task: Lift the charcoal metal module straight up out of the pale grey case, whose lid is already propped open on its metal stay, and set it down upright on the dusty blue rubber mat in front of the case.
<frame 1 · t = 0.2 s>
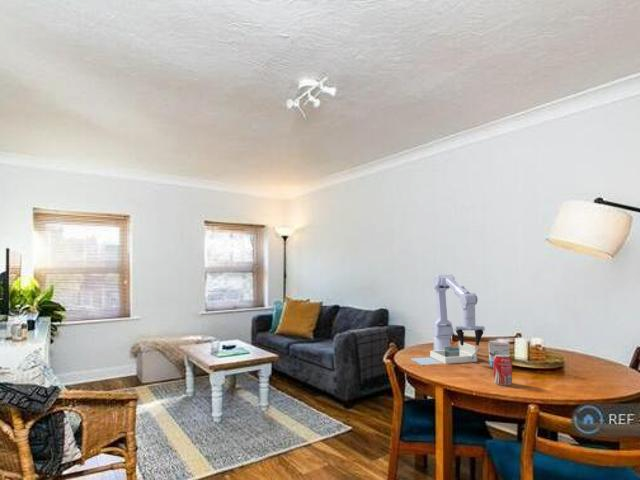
hand: (469, 345, 197), 10 cm above the table, tool pointing down, fingers open, 7 cm apart
module: (452, 359, 206), resting on case
mat: (426, 361, 202), on the table
ink box: (499, 366, 194), on the table
soda can: (503, 384, 165), on the table
case: (452, 360, 206), on the table
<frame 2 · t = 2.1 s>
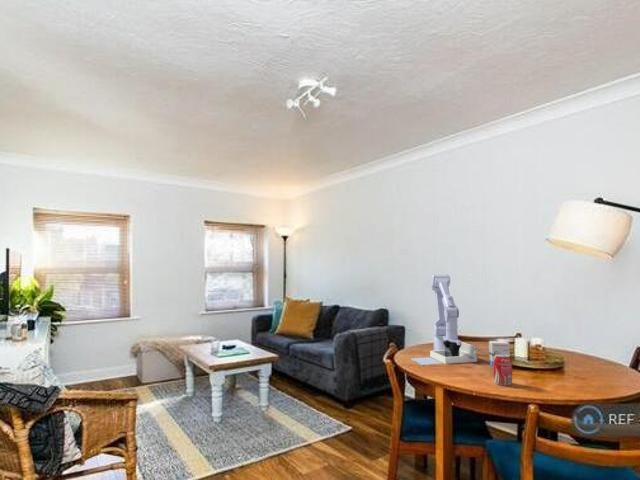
hand: (452, 356, 206), 2 cm above the table, tool pointing down, fingers closed on module, 4 cm apart
module: (452, 359, 206), resting on case, touching gripper
everything else where it was.
when the fingers open (3 cm above the table, at t = 5.8 s): module drops 1 cm, resting on mat.
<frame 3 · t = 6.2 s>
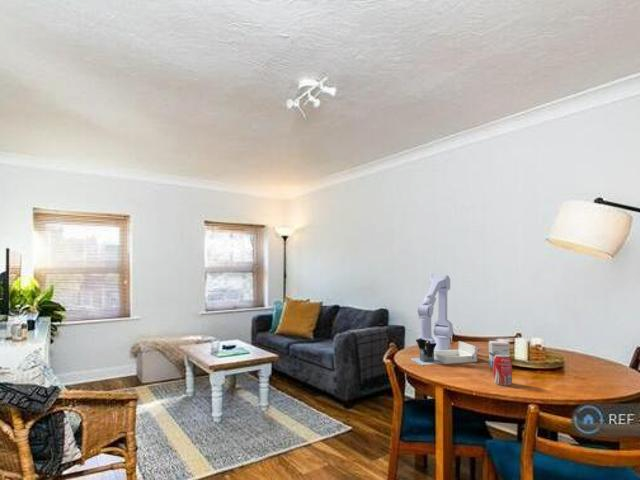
hand: (426, 355, 202), 3 cm above the table, tool pointing down, fingers open, 7 cm apart
module: (426, 360, 202), resting on mat
everything else where it was.
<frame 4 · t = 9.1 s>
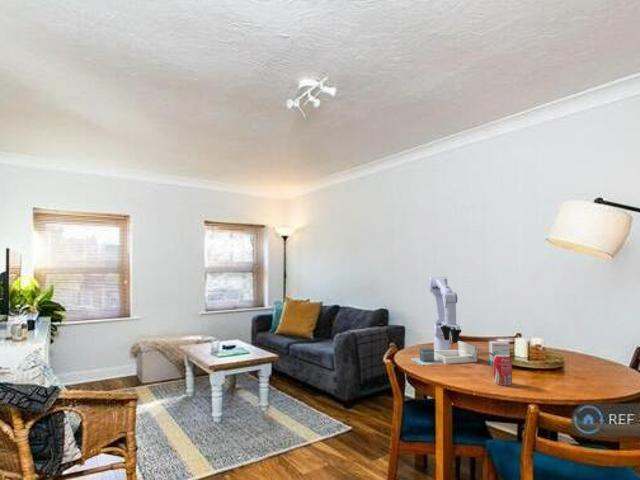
hand: (450, 341, 207), 9 cm above the table, tool pointing down, fingers open, 7 cm apart
nothing on the table moved.
at the end: module inside the target area on the mat (0.4 cm from its centre), point 0.5 cm above the mat's base; module tilted 0°; the gripper is holding nothing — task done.
